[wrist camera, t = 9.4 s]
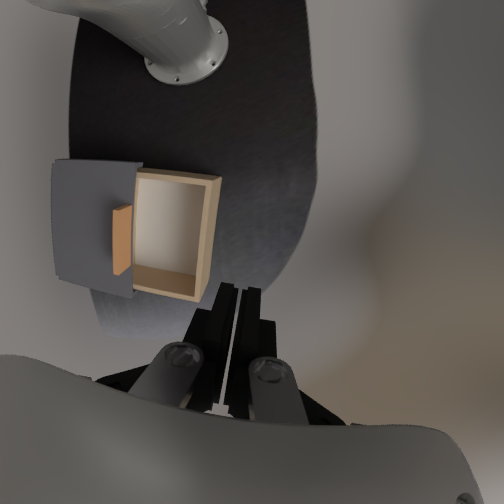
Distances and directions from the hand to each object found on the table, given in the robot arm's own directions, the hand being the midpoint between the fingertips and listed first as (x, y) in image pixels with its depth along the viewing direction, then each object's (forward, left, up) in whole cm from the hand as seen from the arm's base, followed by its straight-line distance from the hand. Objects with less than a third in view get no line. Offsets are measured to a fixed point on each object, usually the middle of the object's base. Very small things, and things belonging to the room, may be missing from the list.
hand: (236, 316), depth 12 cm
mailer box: (+5, -12, -29) cm, 32 cm away
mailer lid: (+5, -22, -23) cm, 33 cm away
